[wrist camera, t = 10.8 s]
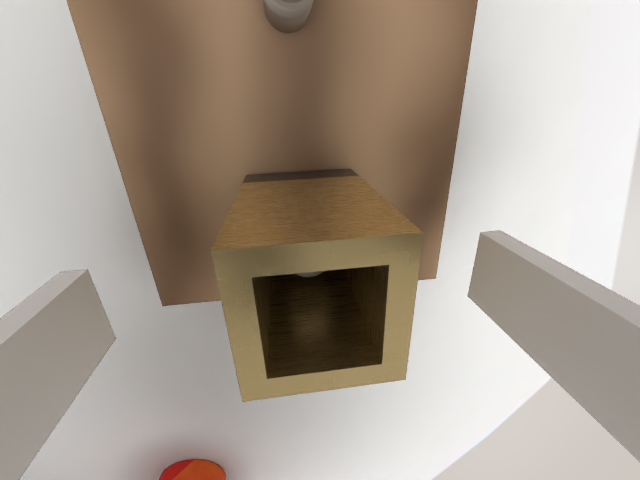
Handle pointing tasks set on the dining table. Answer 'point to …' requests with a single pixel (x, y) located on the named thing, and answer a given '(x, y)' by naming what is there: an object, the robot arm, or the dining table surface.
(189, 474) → the paper cup
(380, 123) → the pin board
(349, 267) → the sleeve
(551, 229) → the dining table surface
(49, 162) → the dining table surface
